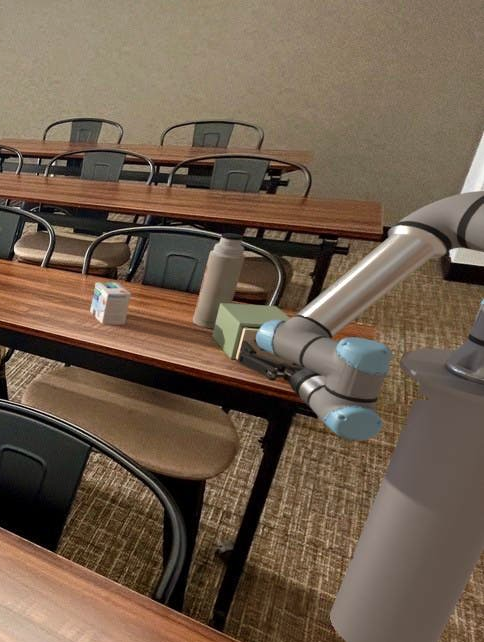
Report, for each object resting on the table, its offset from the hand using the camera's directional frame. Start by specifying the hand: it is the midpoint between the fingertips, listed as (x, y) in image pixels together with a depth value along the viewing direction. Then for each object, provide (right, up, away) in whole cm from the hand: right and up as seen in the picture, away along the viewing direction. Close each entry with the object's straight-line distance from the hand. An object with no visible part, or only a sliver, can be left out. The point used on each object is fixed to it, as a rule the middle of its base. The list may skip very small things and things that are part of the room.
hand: (276, 347), depth 144 cm
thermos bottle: (+8, +5, +30) cm, 32 cm away
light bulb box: (-19, +6, +38) cm, 43 cm away
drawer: (+3, -3, +9) cm, 10 cm away
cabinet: (+5, -2, +14) cm, 15 cm away
